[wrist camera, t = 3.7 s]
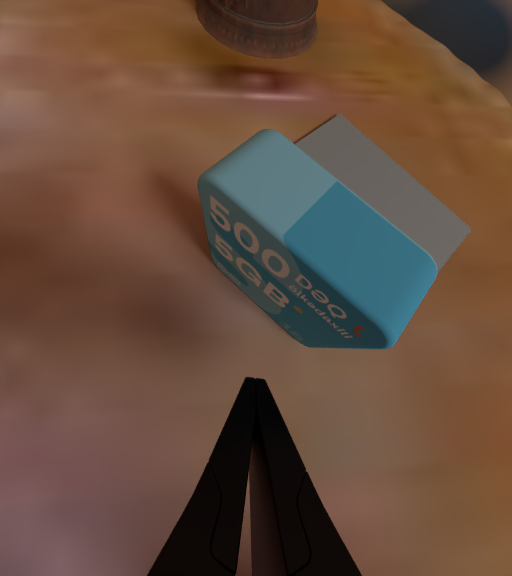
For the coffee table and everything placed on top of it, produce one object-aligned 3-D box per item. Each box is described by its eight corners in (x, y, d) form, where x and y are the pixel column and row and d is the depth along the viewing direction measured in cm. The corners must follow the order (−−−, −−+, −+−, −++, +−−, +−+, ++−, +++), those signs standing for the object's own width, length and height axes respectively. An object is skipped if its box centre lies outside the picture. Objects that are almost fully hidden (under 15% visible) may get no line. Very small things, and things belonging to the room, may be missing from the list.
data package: (211, 263, 21) (189, 160, 9) (242, 234, 22) (258, 111, 10) (304, 348, 20) (413, 353, 8) (331, 313, 21) (459, 273, 9)
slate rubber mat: (468, 230, 26) (472, 229, 25) (375, 347, 20) (378, 347, 20) (338, 116, 28) (340, 113, 28) (224, 194, 23) (224, 191, 22)
